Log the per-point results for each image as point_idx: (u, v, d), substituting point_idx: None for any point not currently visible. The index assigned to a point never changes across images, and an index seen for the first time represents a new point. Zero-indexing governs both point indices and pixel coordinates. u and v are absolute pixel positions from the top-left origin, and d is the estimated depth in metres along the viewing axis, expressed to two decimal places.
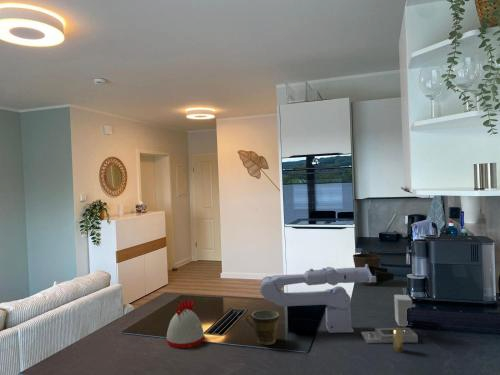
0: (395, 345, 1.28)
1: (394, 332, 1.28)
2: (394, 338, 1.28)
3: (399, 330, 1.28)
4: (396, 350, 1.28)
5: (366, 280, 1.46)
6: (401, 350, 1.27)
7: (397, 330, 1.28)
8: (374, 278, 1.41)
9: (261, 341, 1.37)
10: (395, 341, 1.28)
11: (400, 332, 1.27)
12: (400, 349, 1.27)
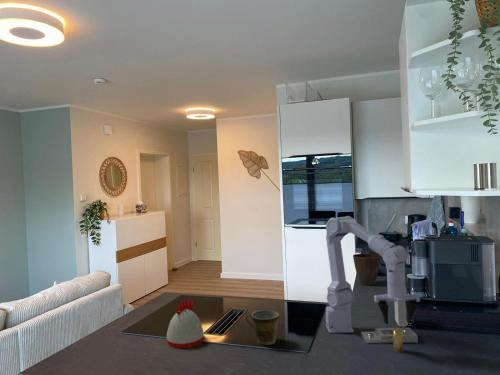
0: (395, 345, 1.28)
1: (394, 332, 1.28)
2: (394, 338, 1.28)
3: (399, 330, 1.28)
4: (396, 350, 1.28)
5: None
6: (401, 350, 1.27)
7: (397, 330, 1.28)
8: (375, 300, 1.29)
9: (261, 341, 1.37)
10: (395, 341, 1.28)
11: (400, 332, 1.27)
12: (400, 349, 1.27)
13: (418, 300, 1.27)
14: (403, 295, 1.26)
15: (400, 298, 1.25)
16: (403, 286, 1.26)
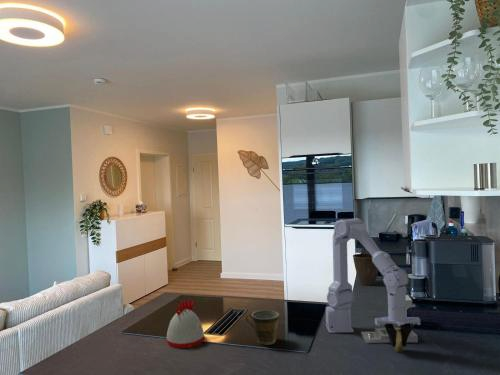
0: (395, 345, 1.28)
1: None
2: None
3: (399, 330, 1.28)
4: (396, 350, 1.28)
5: None
6: (401, 350, 1.27)
7: (397, 330, 1.28)
8: (376, 323, 1.29)
9: (261, 341, 1.37)
10: (395, 341, 1.28)
11: (400, 332, 1.27)
12: (400, 349, 1.27)
13: (419, 323, 1.27)
14: (404, 319, 1.26)
15: (401, 322, 1.25)
16: (404, 309, 1.26)
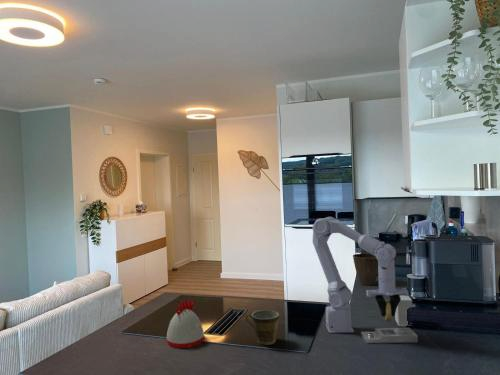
0: (385, 315, 1.38)
1: None
2: (384, 308, 1.38)
3: (389, 301, 1.38)
4: (386, 319, 1.38)
5: None
6: (390, 319, 1.37)
7: (387, 301, 1.38)
8: (367, 294, 1.39)
9: (261, 341, 1.37)
10: (385, 311, 1.38)
11: (389, 303, 1.37)
12: (389, 318, 1.37)
13: (407, 295, 1.37)
14: (393, 290, 1.36)
15: (390, 293, 1.35)
16: (393, 282, 1.36)
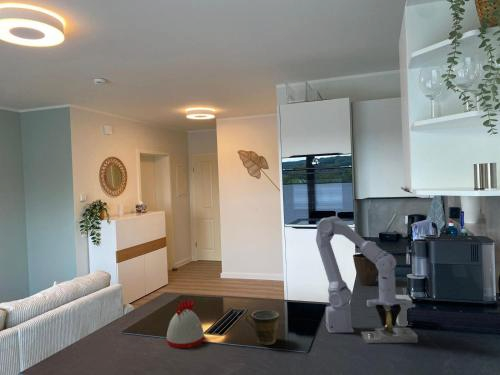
0: (385, 324, 1.38)
1: None
2: None
3: (389, 311, 1.38)
4: (386, 329, 1.38)
5: None
6: (391, 329, 1.37)
7: (387, 311, 1.38)
8: (367, 304, 1.39)
9: (261, 341, 1.37)
10: (385, 321, 1.38)
11: (390, 312, 1.37)
12: (389, 328, 1.37)
13: (407, 304, 1.37)
14: (393, 300, 1.36)
15: (390, 302, 1.35)
16: (393, 291, 1.36)
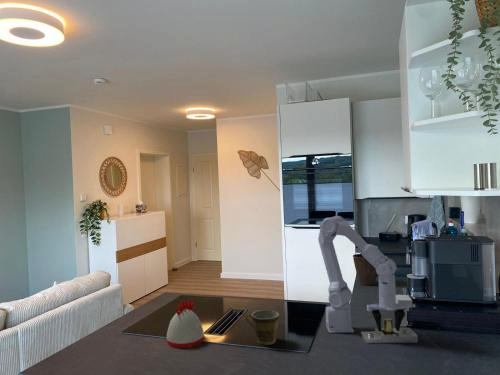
0: (385, 333, 1.38)
1: (384, 321, 1.38)
2: (384, 327, 1.38)
3: (389, 320, 1.38)
4: None
5: None
6: None
7: (387, 320, 1.38)
8: (367, 309, 1.39)
9: (261, 341, 1.37)
10: (385, 330, 1.38)
11: (390, 321, 1.37)
12: None
13: (407, 309, 1.38)
14: (393, 305, 1.36)
15: (390, 308, 1.35)
16: (393, 296, 1.36)
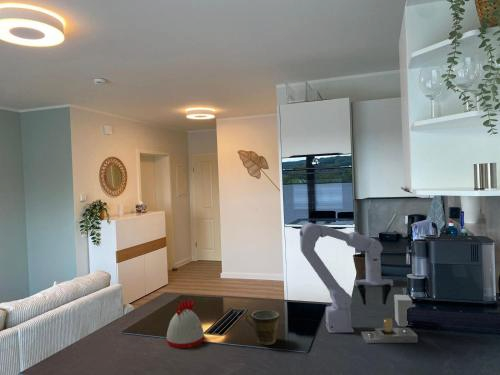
0: (385, 333, 1.38)
1: (384, 321, 1.38)
2: (384, 327, 1.38)
3: (389, 320, 1.38)
4: None
5: None
6: None
7: (387, 320, 1.38)
8: (355, 284, 1.50)
9: (261, 341, 1.37)
10: (385, 330, 1.38)
11: (390, 321, 1.37)
12: None
13: (392, 284, 1.48)
14: (378, 280, 1.47)
15: (376, 282, 1.46)
16: (378, 272, 1.47)
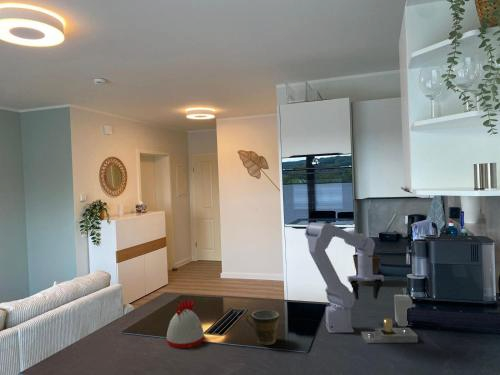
0: (385, 333, 1.38)
1: (384, 321, 1.38)
2: (384, 327, 1.38)
3: (389, 320, 1.38)
4: None
5: None
6: None
7: (387, 320, 1.38)
8: (348, 280, 1.56)
9: (261, 341, 1.37)
10: (385, 330, 1.38)
11: (390, 321, 1.37)
12: None
13: (382, 279, 1.56)
14: (370, 275, 1.54)
15: (368, 278, 1.53)
16: (370, 268, 1.55)
